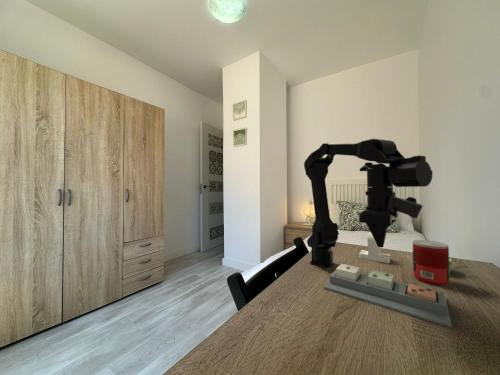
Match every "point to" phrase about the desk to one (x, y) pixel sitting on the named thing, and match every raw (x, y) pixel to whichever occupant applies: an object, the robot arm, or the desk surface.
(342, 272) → the tile
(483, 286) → the desk surface
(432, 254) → the canned food
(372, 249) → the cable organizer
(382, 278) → the tile
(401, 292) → the board
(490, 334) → the desk surface
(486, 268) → the desk surface
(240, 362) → the desk surface
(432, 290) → the tile
